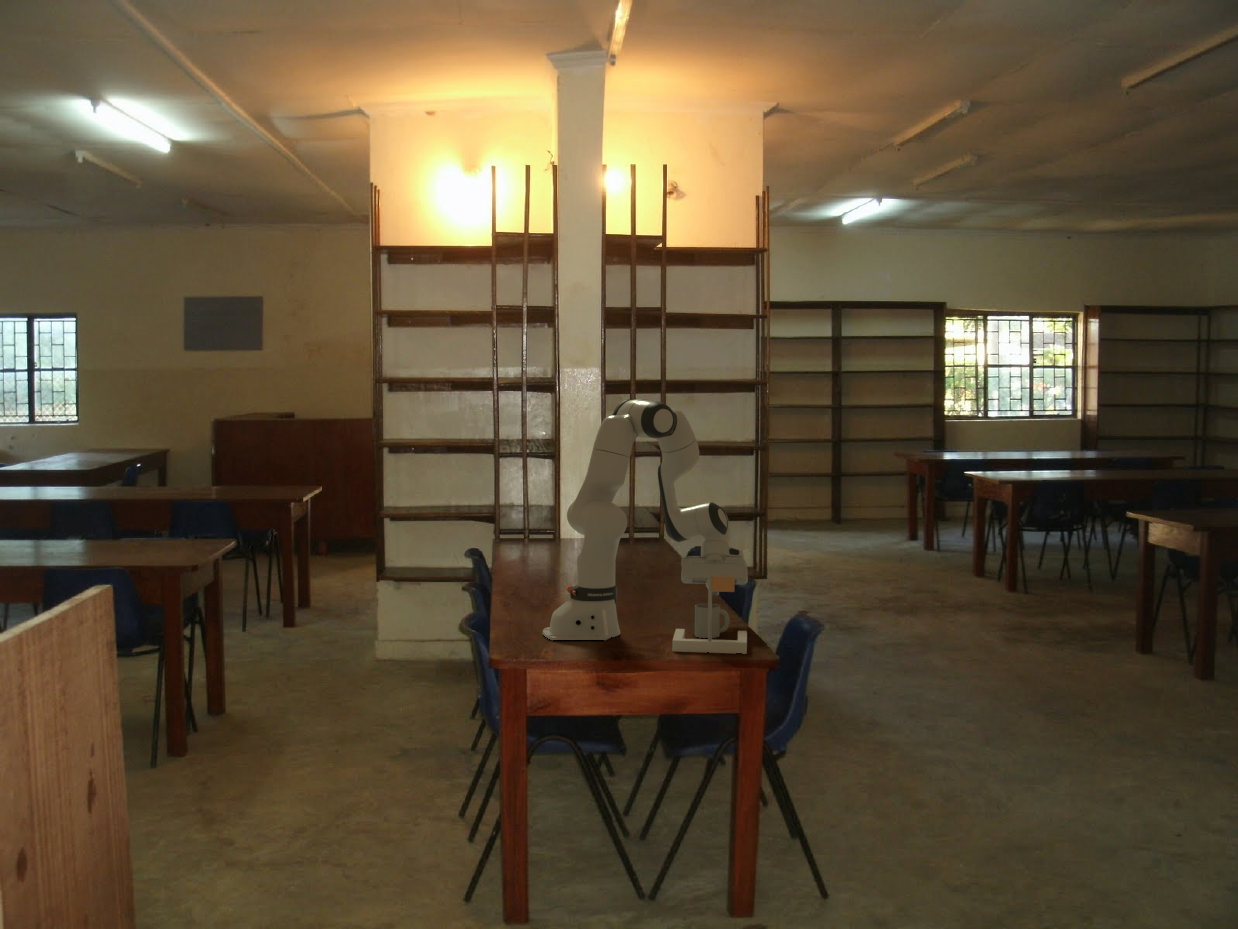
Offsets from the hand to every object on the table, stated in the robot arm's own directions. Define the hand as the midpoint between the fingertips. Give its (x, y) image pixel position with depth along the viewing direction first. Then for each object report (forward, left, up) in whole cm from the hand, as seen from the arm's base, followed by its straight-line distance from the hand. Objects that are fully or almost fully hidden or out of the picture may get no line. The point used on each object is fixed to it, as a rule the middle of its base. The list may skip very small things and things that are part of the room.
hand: (714, 594), depth 324 cm
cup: (-5, -13, -10) cm, 17 cm away
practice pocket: (-9, -25, -10) cm, 28 cm away
